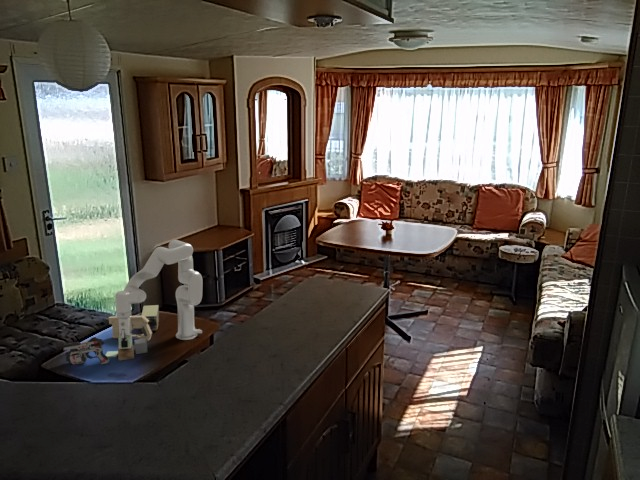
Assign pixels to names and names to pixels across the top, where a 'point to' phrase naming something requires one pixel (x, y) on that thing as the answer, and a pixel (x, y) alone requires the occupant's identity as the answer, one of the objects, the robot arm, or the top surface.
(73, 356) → the toy blaster
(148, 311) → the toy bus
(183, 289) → the robot arm
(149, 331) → the gun
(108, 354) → the sage tile
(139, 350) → the grey cube
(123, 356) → the walnut base
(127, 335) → the sage cube
